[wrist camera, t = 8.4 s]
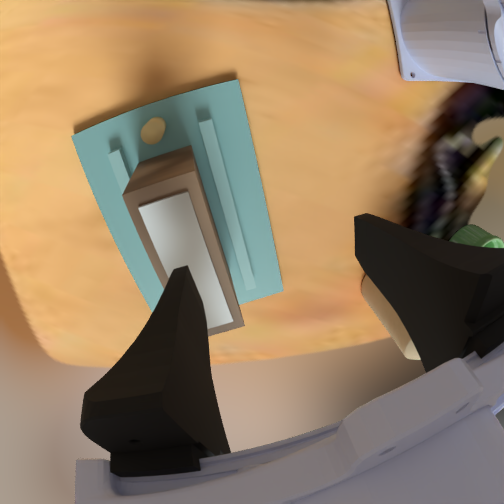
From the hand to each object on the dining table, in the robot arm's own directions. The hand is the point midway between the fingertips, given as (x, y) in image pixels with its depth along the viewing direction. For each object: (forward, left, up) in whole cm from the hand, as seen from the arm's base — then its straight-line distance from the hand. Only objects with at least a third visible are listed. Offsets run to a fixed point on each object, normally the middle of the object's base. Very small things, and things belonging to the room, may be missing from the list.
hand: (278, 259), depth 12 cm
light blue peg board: (+4, +2, -10) cm, 11 cm away
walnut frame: (+4, +1, -9) cm, 10 cm away
